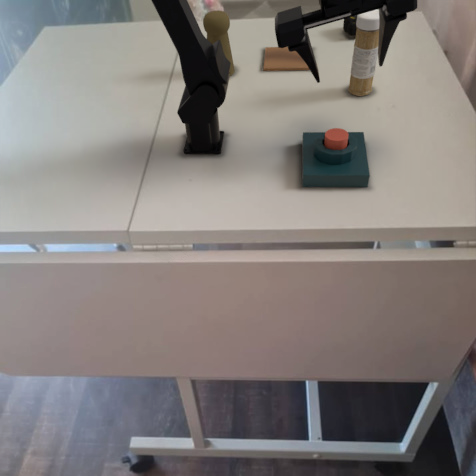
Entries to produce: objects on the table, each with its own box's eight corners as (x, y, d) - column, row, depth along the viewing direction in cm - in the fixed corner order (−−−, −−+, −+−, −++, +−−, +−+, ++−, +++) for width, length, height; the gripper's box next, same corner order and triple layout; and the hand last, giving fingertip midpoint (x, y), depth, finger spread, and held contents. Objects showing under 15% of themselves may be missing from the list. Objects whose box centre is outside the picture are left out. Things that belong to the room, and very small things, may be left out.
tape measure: (348, 41, 106) (350, 22, 103) (338, 29, 110) (340, 10, 107) (378, 36, 106) (381, 18, 103) (366, 24, 110) (369, 6, 108)
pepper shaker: (222, 81, 97) (218, 21, 89) (200, 74, 100) (193, 15, 91) (240, 69, 100) (237, 10, 92) (218, 62, 103) (213, 4, 94)
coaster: (311, 70, 98) (312, 67, 98) (263, 70, 99) (263, 68, 99) (311, 48, 104) (311, 46, 104) (265, 49, 105) (265, 47, 105)
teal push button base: (367, 187, 74) (371, 164, 71) (302, 187, 75) (303, 164, 72) (361, 143, 81) (365, 121, 78) (302, 143, 82) (303, 122, 79)
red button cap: (347, 151, 74) (349, 140, 72) (324, 151, 74) (325, 140, 73) (346, 138, 76) (347, 127, 75) (323, 138, 76) (324, 128, 75)
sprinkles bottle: (358, 83, 94) (369, 5, 83) (376, 91, 92) (390, 12, 81) (342, 91, 92) (352, 13, 82) (360, 99, 90) (372, 20, 79)
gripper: (402, -91, 63) (404, 33, 75) (264, -45, 68) (287, 66, 79) (418, -67, 56) (418, 66, 68) (264, -18, 61) (288, 99, 72)
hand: (349, 73), depth 72 cm, fingers open, 9 cm apart
